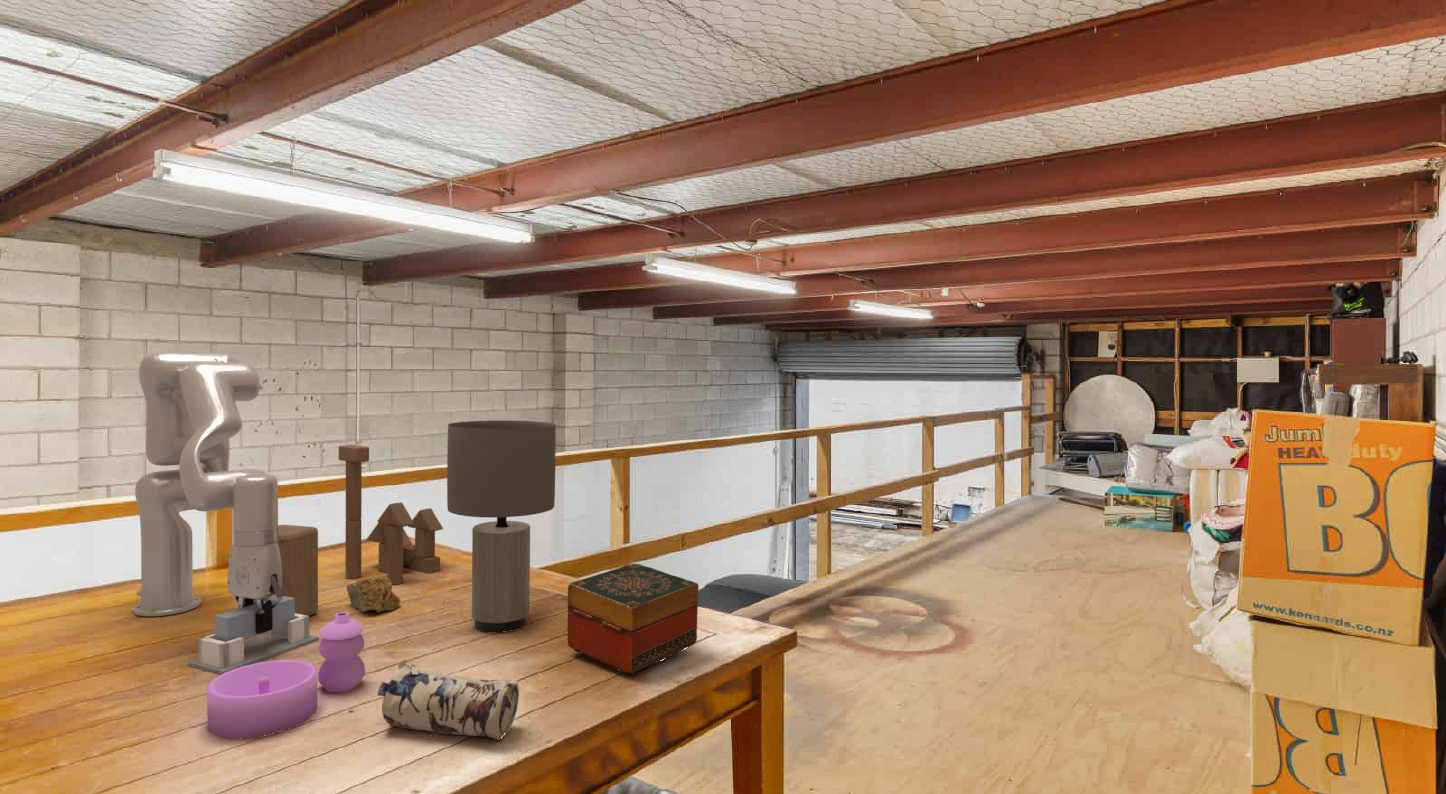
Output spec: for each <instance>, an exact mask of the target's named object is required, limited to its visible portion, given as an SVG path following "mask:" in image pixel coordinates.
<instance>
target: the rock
mask: <svg viewBox="0 0 1446 794" xmlns="http://www.w3.org/2000/svg"><path fill="white" fill-rule="evenodd" d="M392 590H393V585H392V583H391V581H390V580H389V579H388V578H386V577H384V576H372V577H371V576H370V577H367V578H361V577H360V578H357V579H356V580H355V582H353V583H351V584H347V586H346V591H347V595H348V597H349V600H350V604H351V606H352V607H353V608H355V609H357V610H358V611H359V612H361V613H366V612H369V611H376V613H381V612H384V611H388V612H391V611H393V610H395V609H397V608H398V606H399V605H400V603H401V602H402V599H401V598H400V597H399V596H397V594H395V593H394V592H393V591H392Z"/></svg>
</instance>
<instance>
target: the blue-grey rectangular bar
mask: <svg viewBox="0 0 1446 794" xmlns="http://www.w3.org/2000/svg"><path fill="white" fill-rule="evenodd" d="M267 601H268V600H267ZM265 602H266V601H264V603H265ZM257 613H258V609H257V604H254V605H250V606H247V607H243V608H240V609H238V608H236V609H233V610H230V611H227V612H223V613H220V614H216V615H215V616H214V634H215V639H216V640H220V641H224V642H227V641H230V640H233V639H236V638H239V637H242V638H244V640H246V639H250V638H252V637H256V636H258V635H262V634H264V633H268V631H267V632H264V633H261V634H256V623H255V614H257ZM294 619H295V598H291V597H286V596H283V600H282V601H280V602H279V603H277V604H276V606H275V609H274V610H273V628H272V630H274V629H277V628H280V627H283V626H286V625H288V621H291V620H294ZM270 631H271V630H270Z"/></svg>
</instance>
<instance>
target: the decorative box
mask: <svg viewBox="0 0 1446 794" xmlns="http://www.w3.org/2000/svg"><path fill="white" fill-rule="evenodd" d="M699 592H700V591H699V583H697V582H695V581H692V580H688V579H685V578H682V577H681V576H676V575H672V574H670V573H666V572H664V571H662V570H658V569H656V568H653V567H650V566H646V565H643V564H640V563H631V564H628V565H625V566H620V567H618V568H615V569H611V570H608V571H605V572H602V573H598V574H595V575H592V576H589V577H586V578H582V579H580V580H579V579H578V580H575V581H572V582H570V583H569V584H568V588H567V640H566V642H567V645H568V647H569V648H571V649H572V650H573V651H574V652H576V653H579V652H582V653H581V654H583V653H584V654H583V655H586V656H588V657H589V658H590V659H594V660H595V661H598V662H600V663H603V662H604V664H607V665H609V666H610V667H611V668H613V667H614V668H613V669H615V668H616V669H619V670H620V671H622V672H621V673H624V672H626V673H625V674H631V675H632V674H635V673H637V672H639V671H641V670H642V669H643V668H647V667H646V666H648V667H651V666H653V665H652V664H654V663H656V662H657V663H659V662H658V661H660V660H662V659H664V658H666V659H667V657H668V658H669V657H671V655H672V656H675V655H677V654H679V653H680V652H679V651H681V650H683V649H684V648H686V647H688V648H691V647H692V646H693V645H695V644H696V643H697V640H698V609H699V608H698V604H699ZM683 651H684V650H683ZM678 652H679V653H678ZM681 652H682V651H681ZM674 654H675V655H674ZM660 662H661V661H660ZM657 663H656V664H657ZM650 665H651V666H650ZM654 665H655V664H654ZM616 669H615V670H616ZM620 671H619V672H620ZM636 671H637V672H636Z"/></svg>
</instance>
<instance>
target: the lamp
mask: <svg viewBox="0 0 1446 794" xmlns="http://www.w3.org/2000/svg"><path fill="white" fill-rule="evenodd" d="M447 425H448V426H447V450H446V451H447V453H446V455H447V459H446V460H447V461H446V467H447V468H446V470H447V472H446V473H447V475H446V479H447V481H446V482H447V483H446V485H447V488H446V501H447V502H446V505H447V511H448V512H449V513H451V514H453V515H457V516H461V517H462V516H463V517H469V518H470V517H471V518H472V517H473V518H491V519H492V518H496V520H494V521H487V522H481V523H478V524H475V525H474V526H473V527H472V529H471V531H472V532H471V533H472V536H471V539H472V542H471V544H472V545H471V547H472V548H471V552H472V553H471V555H472V556H471V557H472V558H471V618H472V619H473V620H474V621H473V623H474V628H475V630H477V631H479V630H480V631H479V632H482V633H487V632H503V631H510V630H515V631H517V630H516V629H518V630H519V628H520V629H522V628H524V627H525V626H526V625H527V621H528V620H527V619H528V616H529V614H530V597H531V596H530V595H531V594H530V593H531V591H530V589H531V587H530V585H531V580H530V579H531V577H530V576H531V572H530V570H531V525H530V524H529V523H526V522H523V521H517V520H508V519H507V518H514V517H515V518H516V517H523V516H524V517H525V516H526V517H527V516H533V515H539V514H543V513H546V512H549V511H551V510H553V509H554V508H555V498H556V452H557V451H556V444H557V442H556V440H557V439H556V437H557V436H556V432H557V431H556V430H557V429H556V424H555V423H552V422H546V421H533V420H530V421H529V420H473V421H472V420H471V421H469V420H467V421H459V422H458V421H457V422H452V423H448V424H447ZM525 624H526V625H525ZM524 625H525V626H524ZM523 626H524V627H523ZM521 627H522V628H521ZM510 632H511V631H510Z"/></svg>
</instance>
